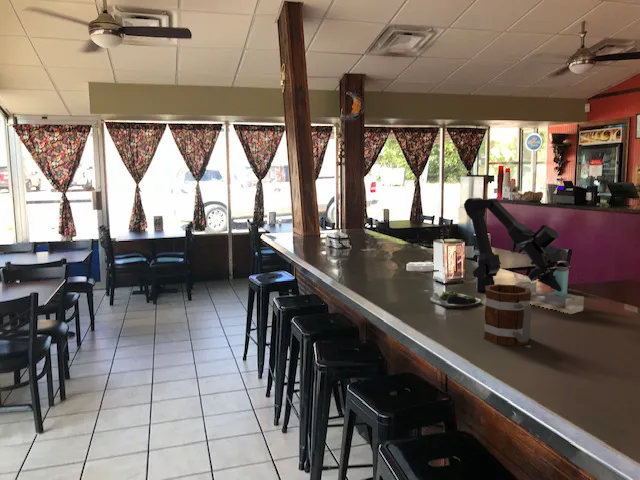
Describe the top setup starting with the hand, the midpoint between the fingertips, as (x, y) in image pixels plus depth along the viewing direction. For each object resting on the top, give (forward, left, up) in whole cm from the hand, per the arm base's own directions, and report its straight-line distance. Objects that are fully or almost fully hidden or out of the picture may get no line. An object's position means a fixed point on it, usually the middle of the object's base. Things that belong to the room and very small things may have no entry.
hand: (564, 290), depth 178 cm
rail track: (-4, +4, -7) cm, 9 cm away
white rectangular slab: (-49, +69, -8) cm, 85 cm away
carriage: (-1, +1, -4) cm, 4 cm away
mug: (-24, -39, -7) cm, 46 cm away
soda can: (+6, +30, -7) cm, 32 cm away
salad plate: (-37, +3, -8) cm, 38 cm away
